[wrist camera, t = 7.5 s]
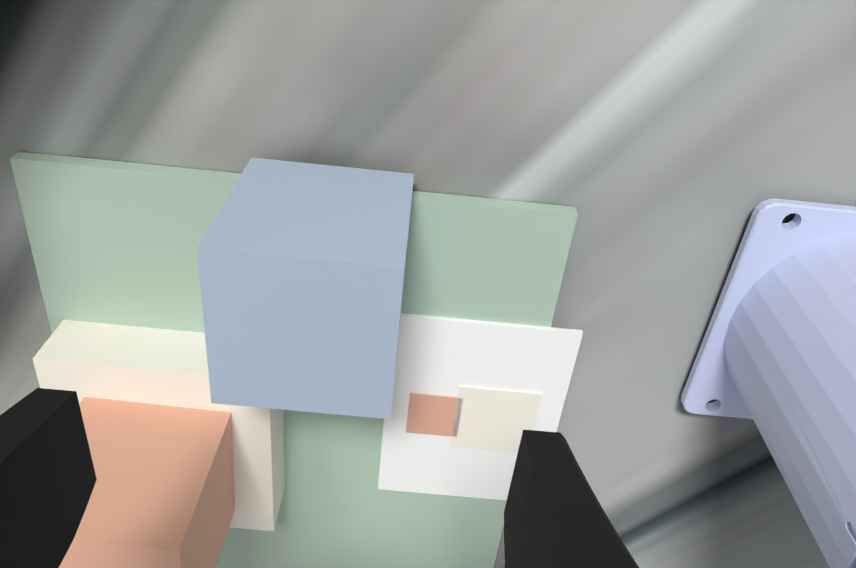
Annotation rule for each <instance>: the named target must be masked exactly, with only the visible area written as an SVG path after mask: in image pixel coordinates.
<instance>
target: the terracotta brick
mask: <svg viewBox="0 0 856 568" xmlns="http://www.w3.org/2000/svg"><path fill="white" fill-rule="evenodd" d="M79 405H80V410H81V414H82V418H83V422H84V427H85V431H86V435H87V440H88V444H89V448H90V453H91V457H92V461H93V465H94V470H95V474H96V478H97V480H96V483H95V486H94V488H93V491H92V494H91V496H90V499H89V502H88V504H87V507H86V510H85V512H84V515H83V517H82V520H81V522H80V525H79V527H78V530H77V532H76V535H75V537H74V540H73V541H72V543H71V545H70V547H69V549H68V551H67V553H66V555H65V557H64V559H63V560H62V562H61V564H60V566H59V568H216V567H217V564H218V561H219V558H220V554H221V551H222V548H223V545H224V542H225V539H226V535H227V532H228V529H229V526H230V523H231V520H232V516H233V513H234V510H235V493H234V469H233V445H232V420H231V412H223V411H214V410H204V409H195V408H186V407H176V406H167V405H157V404H148V403H139V402H129V401H120V400H111V399H101V398H92V397H84V398H83V399H82V401H81V402H80V404H79Z"/></svg>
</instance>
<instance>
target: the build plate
mask: <svg viewBox="0 0 856 568" xmlns="http://www.w3.org/2000/svg"><path fill="white" fill-rule="evenodd" d="M9 159H10V163H11V168H12V172H13V176H14V180H15V184H16V188H17V193H18V197H19V201H20V205H21V209H22V213H23V217H24V222H25V226H26V230H27V234H28V238H29V242H30V247H31V251H32V255H33V259H34V263H35V267H36V271H37V276H38V280H39V284H40V288H41V292H42V296H43V301H44V305H45V309H46V313H47V317H48V321H49V325H50V330H51V334H53V332H54V331H55V330H56V329H57V327H58V326H59V325H60V323H61V322H62V321H63V320H73V321H83V322H94V323H105V324H116V325H127V326H137V327H148V328H159V329H170V330H180V331H191V332H202V333H205V330H204V319H203V309H202V298H201V287H200V276H199V266H198V255H197V247H198V245H199V244H200V242H201V240H202V239H203V237H204V235H205V234H206V232H207V230H208V229H209V227H210V225H211V224H212V222H213V221H214V219H215V217H216V216H217V214H218V212H219V211H220V209H221V207H222V206H223V204H224V202H225V201H226V199H227V197H228V196H229V194H230V192H231V191H232V189H233V187H234V186H235V184H236V182H237V181H238V179H239V177H240V176H241V174H240V173H230V172H220V171H210V170H200V169H190V168H180V167H170V166H160V165H150V164H140V163H130V162H120V161H110V160H100V159H90V158H80V157H70V156H60V155H50V154H40V153H30V152H20V151H18V152H17V153H16V154H14V155H13V156H12V157H10V158H9ZM577 216H578V214H577V211H576V208H575V207H571V206H561V205H551V204H541V203H531V202H521V201H511V200H501V199H491V198H481V197H471V196H461V195H451V194H441V193H431V192H421V191H413V192H412V202H411V213H410V224H409V234H408V245H407V256H406V266H405V277H404V288H403V298H402V309H401V313H405V314H415V315H426V316H436V317H447V318H458V319H468V320H479V321H489V322H500V323H511V324H521V325H532V326H542V327H551V325H552V321H553V316H554V312H555V308H556V304H557V300H558V295H559V291H560V287H561V283H562V279H563V274H564V270H565V266H566V262H567V258H568V253H569V249H570V245H571V241H572V237H573V232H574V228H575V224H576V220H577ZM283 411H284V464H285V489H284V493H283V497H282V501H281V505H280V509H279V513H278V517H277V521H276V525H275V529H274V531H265V530H253V529H242V528H230V527H229V529H228V532H227V535H226V539H225V542H224V545H223V548H222V551H221V554H220V558H219V561H218V564H217V567H216V568H494V564H495V560H496V555H497V551H498V547H499V543H500V539H501V534H502V530H503V526H504V510H505V505H506V501H507V500H496V499H484V498H473V497H461V496H450V495H438V494H426V493H415V492H403V491H392V490H380V489H378V481H379V470H380V458H381V447H382V435H383V423H384V419H382V418H371V417H360V416H349V415H337V414H326V413H315V412H304V411H293V410H283Z"/></svg>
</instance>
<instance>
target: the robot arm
mask: <svg viewBox="0 0 856 568" xmlns="http://www.w3.org/2000/svg"><path fill="white" fill-rule="evenodd" d="M792 213H795V217H794V218H793V220H791V221H790V222H788V223H782V220H783V219H784V218H785V216H787V215H789V214H792ZM714 399H716V401H714V402H712V403H707V402H708V401H710V400H714ZM681 402H682V404H683V406H684V409H685V410H686V411H687V412H689V413H692V414H701V415H712V416H723V417H734V418H745V419H753V420H754V422H755V424H756V426H757V428H758V430H759V432H760V434H761V436H762V437H763V439H764V441H765V443H766V445H767V447H768V449H769V451H770V453H771V455H772V457H773V459H774V461H775V463H776V465H777V467H778V469H779V470H780V472H781V474H782V476H783V478H784V480H785V482H786V484H787V486H788V488H789V490H790V492H791V494H792V496H793V498H794V500H795V502H796V503H797V505H798V507H799V509H800V511H801V513H802V515H803V517H804V519H805V521H806V523H807V525H808V527H809V529H810V531H811V533H812V535H813V537H814V538H815V540H816V542H817V544H818V546H819V548H820V550H821V552H822V554H823V556H824V558H825V560H826V562H827V564H828V566H829V568H856V207H855V206H845V205H835V204H825V203H815V202H806V201H796V200H786V199H768V200H765V201H763V202H761V203H760V204H759V205H758V206H756V208H755V209H754V211H753V212H752V215H751V218H750V220H749V223H748V225H747V228H746V231H745V233H744V236H743V238H742V241H741V243H740V246H739V249H738V251H737V254H736V256H735V259H734V261H733V264H732V267H731V269H730V272H729V274H728V277H727V279H726V282H725V285H724V287H723V290H722V292H721V295H720V297H719V300H718V303H717V305H716V308H715V310H714V313H713V315H712V318H711V321H710V323H709V326H708V328H707V331H706V333H705V336H704V339H703V341H702V344H701V346H700V349H699V351H698V354H697V357H696V359H695V362H694V364H693V367H692V369H691V372H690V375H689V377H688V380H687V382H686V385H685V388H684V390H683V393H682V395H681ZM96 480H97V478H96V474H95V470H94V465H93V461H92V457H91V453H90V448H89V444H88V440H87V435H86V431H85V427H84V422H83V418H82V414H81V410H80V405H79V401H78V397H77V392H76V391H67V390H56V389H44V388H37V389H36V390H34V391H33V392H31V393H30V394H29V395H27V396H26V397H24V398H23V399H22V400H20V401H19V402H18V403H16V404H15V405H14V406H12V407H11V408H10V409H8V410H7V411H6V412H4V413H3V414H2V415H0V568H59V566H60V564H61V562H62V560H63V559H64V557H65V555H66V553H67V551H68V549H69V547H70V545H71V543H72V541H73V540H74V537H75V535H76V532H77V530H78V527H79V525H80V522H81V520H82V517H83V515H84V512H85V510H86V507H87V504H88V502H89V499H90V496H91V494H92V491H93V488H94V486H95V483H96ZM504 545H505V568H639V567H638V565H637V564H636V562H635V561H634V559H633V558H632V556H631V555H630V553H629V551H628V550H627V548H626V546H625V545H624V543H623V542H622V540H621V538H620V537H619V535H618V533H617V532H616V530H615V529H614V527H613V525H612V524H611V522H610V521H609V519H608V517H607V515H606V514H605V512H604V510H603V509H602V507H601V505H600V503H599V502H598V500H597V498H596V496H595V494H594V493H593V491H592V489H591V487H590V485H589V484H588V482H587V480H586V478H585V476H584V474H583V472H582V471H581V469H580V467H579V465H578V463H577V461H576V459H575V457H574V455H573V453H572V451H571V449H570V447H569V445H568V443H567V441H566V439H565V438H564V436H563V435H562V434H561V433H558V432H547V431H535V430H523V432H522V437H521V441H520V445H519V450H518V454H517V458H516V463H515V467H514V471H513V475H512V480H511V484H510V488H509V493H508V497H507V501H506V505H505V510H504Z"/></svg>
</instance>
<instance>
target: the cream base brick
mask: <svg viewBox="0 0 856 568" xmlns="http://www.w3.org/2000/svg"><path fill="white" fill-rule="evenodd" d="M33 363H34V366H35V370H36V374H37V378H38V381H39V385H40V388H44V389H56V390H67V391H76V392H77V397H78V401H79V404H80V402H81V401H82V399H83V398H84V397H92V398H101V399H111V400H120V401H129V402H139V403H148V404H157V405H167V406H176V407H186V408H195V409H204V410H214V411H223V412H231V420H232V445H233V469H234V493H235V510H234V513H233V516H232V520H231V523H230V526H229V527H230V528H242V529H253V530H265V531H274V529H275V525H276V521H277V517H278V513H279V509H280V505H281V501H282V497H283V493H284V489H285V464H284V411H283V410H282V409H271V408H259V407H248V406H237V405H226V404H215V403H211V395H210V384H209V373H208V362H207V352H206V341H205V333H202V332H191V331H180V330H170V329H159V328H148V327H137V326H127V325H116V324H105V323H94V322H83V321H73V320H63V321H62V322H61V323H60V325H59V326H58V327H57V329H56V330H55V331H54V332H53V334H52V335H51V336H50V337H49V339H48V340H47V341H46V343H45V344H44V345H43V346H42V348H41V349H40V350H39V351H38V353H37V354H36V355H35V356H34V358H33Z"/></svg>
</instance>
